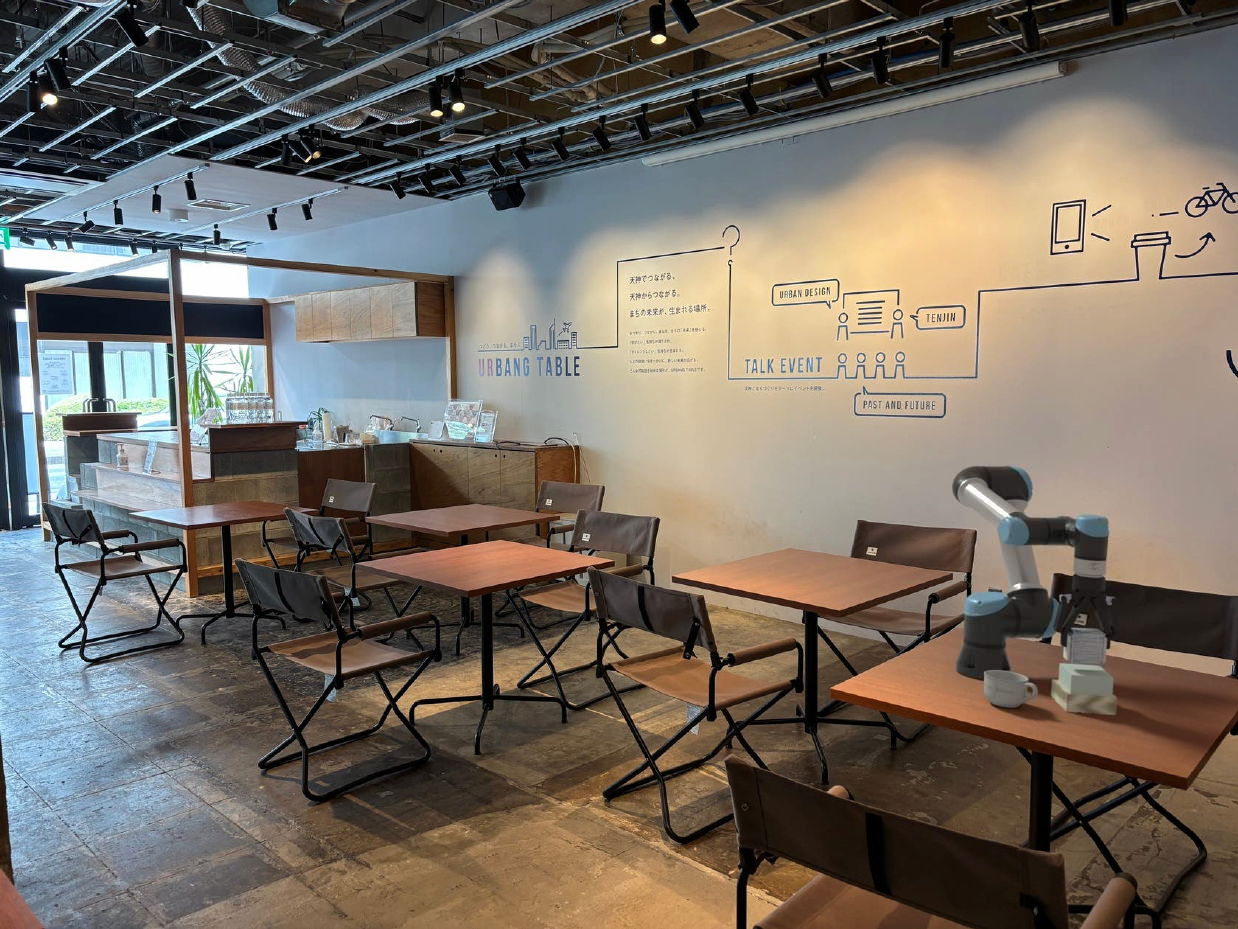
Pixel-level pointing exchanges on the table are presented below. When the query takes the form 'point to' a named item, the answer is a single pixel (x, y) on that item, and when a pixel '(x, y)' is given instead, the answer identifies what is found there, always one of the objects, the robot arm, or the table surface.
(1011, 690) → the teacup
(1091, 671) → the grey-green top block
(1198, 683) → the table surface
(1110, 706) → the birch base block
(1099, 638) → the medicine box
